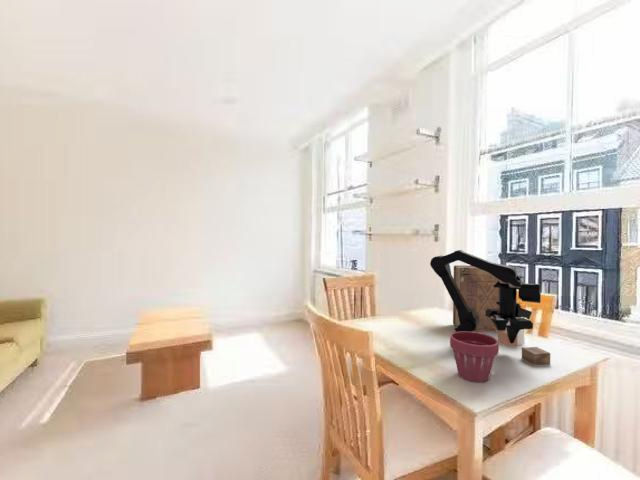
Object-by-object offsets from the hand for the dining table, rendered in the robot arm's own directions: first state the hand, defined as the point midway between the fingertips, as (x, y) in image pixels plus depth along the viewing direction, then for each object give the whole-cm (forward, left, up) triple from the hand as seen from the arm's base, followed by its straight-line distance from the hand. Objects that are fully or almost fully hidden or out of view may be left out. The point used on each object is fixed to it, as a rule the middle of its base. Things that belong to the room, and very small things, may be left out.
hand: (507, 340), depth 121 cm
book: (+12, +33, -6) cm, 36 cm away
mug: (+12, +12, -6) cm, 18 cm away
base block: (+6, -7, -5) cm, 10 cm away
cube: (0, 0, -1) cm, 1 cm away
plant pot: (-22, -14, -6) cm, 27 cm away
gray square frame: (+6, -7, -6) cm, 11 cm away
